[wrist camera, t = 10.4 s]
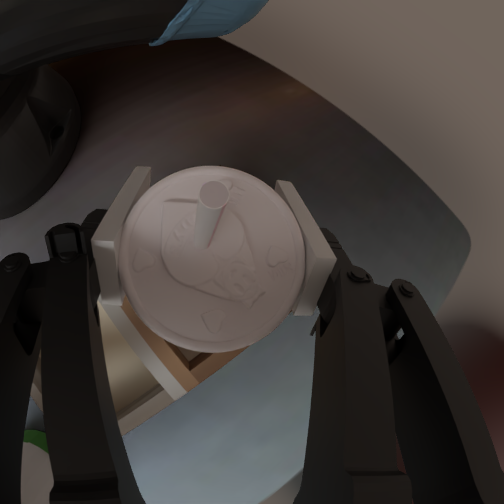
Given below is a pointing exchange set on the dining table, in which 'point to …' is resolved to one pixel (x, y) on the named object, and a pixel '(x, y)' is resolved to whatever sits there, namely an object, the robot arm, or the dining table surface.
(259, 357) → the dining table surface
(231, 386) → the dining table surface
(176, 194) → the smoothie
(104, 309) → the board
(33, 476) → the wine bottle
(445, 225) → the dining table surface
